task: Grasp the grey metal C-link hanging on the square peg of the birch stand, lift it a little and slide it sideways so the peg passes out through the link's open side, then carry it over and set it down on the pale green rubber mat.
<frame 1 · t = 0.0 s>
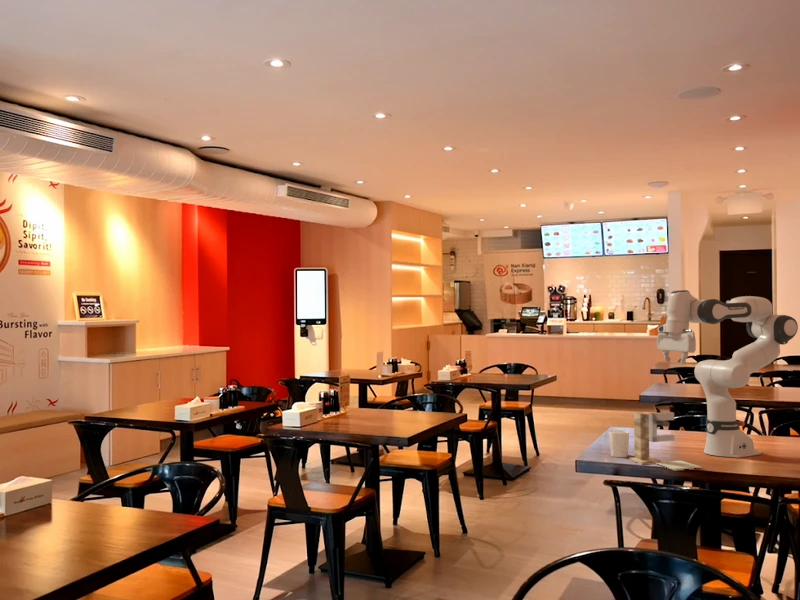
hand: (674, 362, 294), 39 cm above the table, tool pointing down, fingers open, 8 cm apart
mat: (678, 466, 277), on the table
c link: (661, 440, 277), point 10 cm above the table, touching stand
white cup: (619, 456, 297), on the table
stand: (645, 461, 285), on the table
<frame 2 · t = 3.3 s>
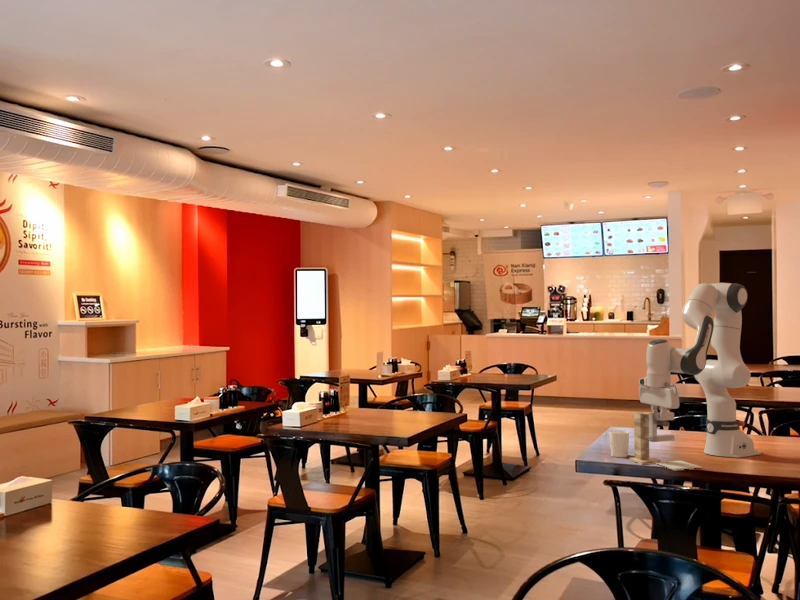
hand: (659, 417, 277), 19 cm above the table, tool pointing down, fingers closed on c link, 2 cm apart
c link: (661, 440, 277), point 10 cm above the table, touching gripper, stand
everything else where it was.
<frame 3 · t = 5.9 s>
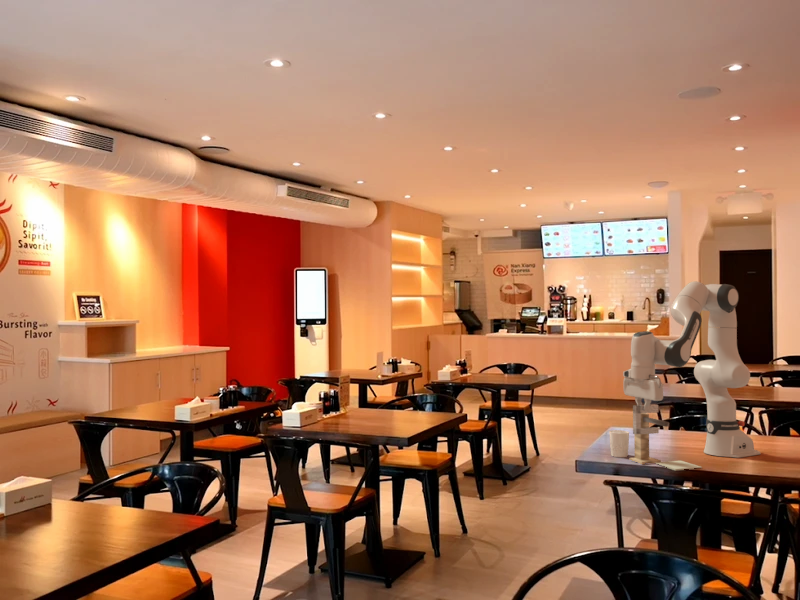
hand: (643, 409, 275), 22 cm above the table, tool pointing down, fingers closed on c link
c link: (645, 433, 275), point 13 cm above the table, touching gripper
everything else where it was.
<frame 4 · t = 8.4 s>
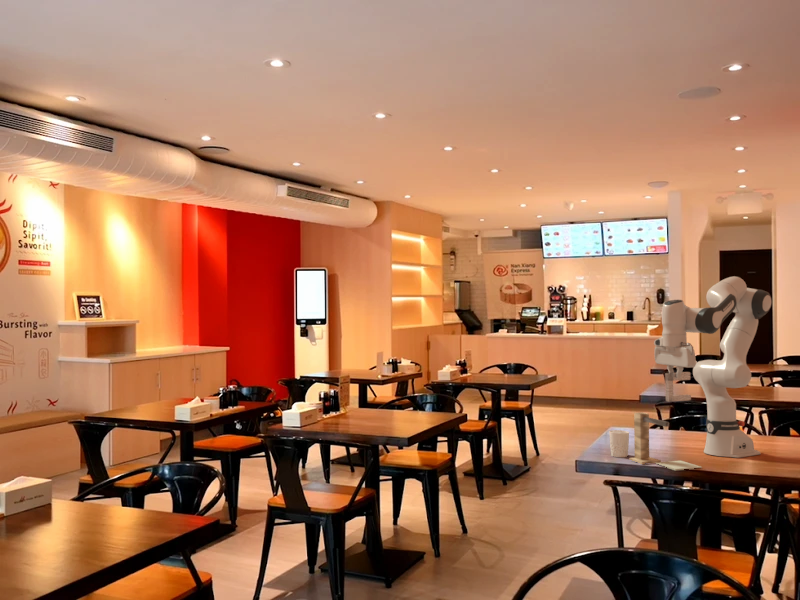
hand: (675, 377, 277), 34 cm above the table, tool pointing down, fingers closed on c link
c link: (678, 400, 278), point 25 cm above the table, touching gripper
everything else where it was.
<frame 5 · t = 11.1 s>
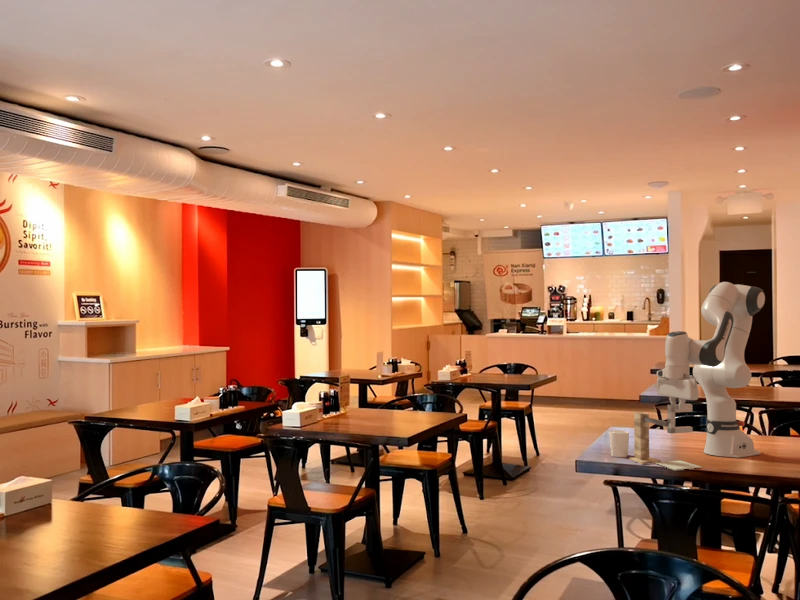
hand: (677, 409, 277), 22 cm above the table, tool pointing down, fingers closed on c link
c link: (680, 432, 277), point 13 cm above the table, touching gripper
everything else where it was.
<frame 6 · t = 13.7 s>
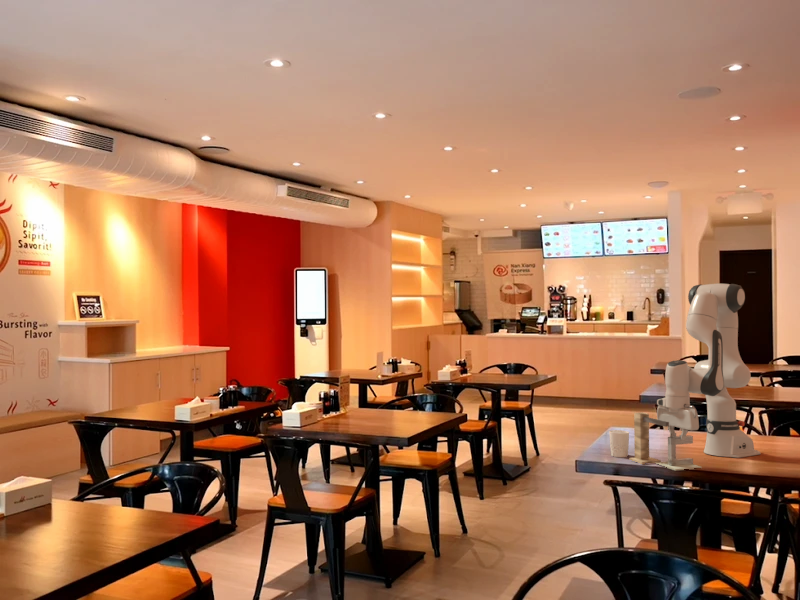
hand: (677, 438, 277), 11 cm above the table, tool pointing down, fingers open, 4 cm apart
c link: (680, 464, 277), point 1 cm above the table, touching mat
everything else where it was.
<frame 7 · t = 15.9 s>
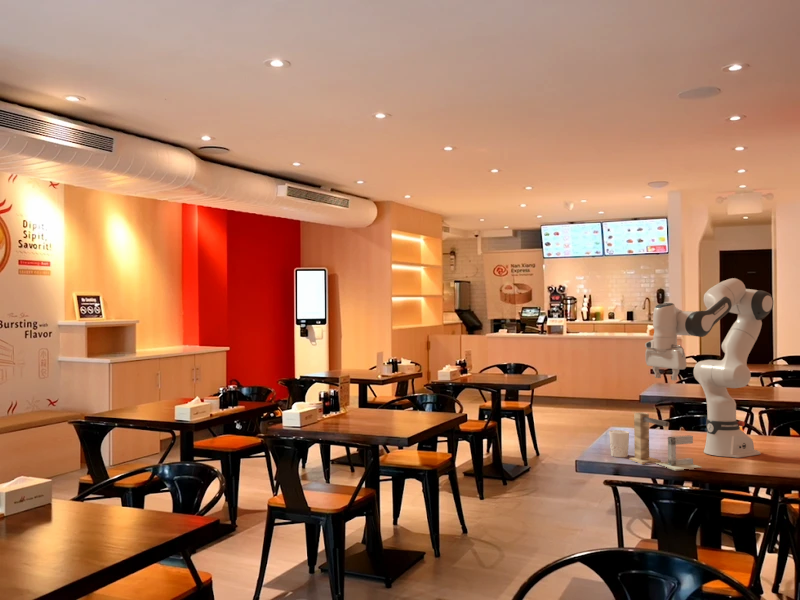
hand: (665, 379, 283), 33 cm above the table, tool pointing down, fingers open, 8 cm apart
nothing on the table moved.
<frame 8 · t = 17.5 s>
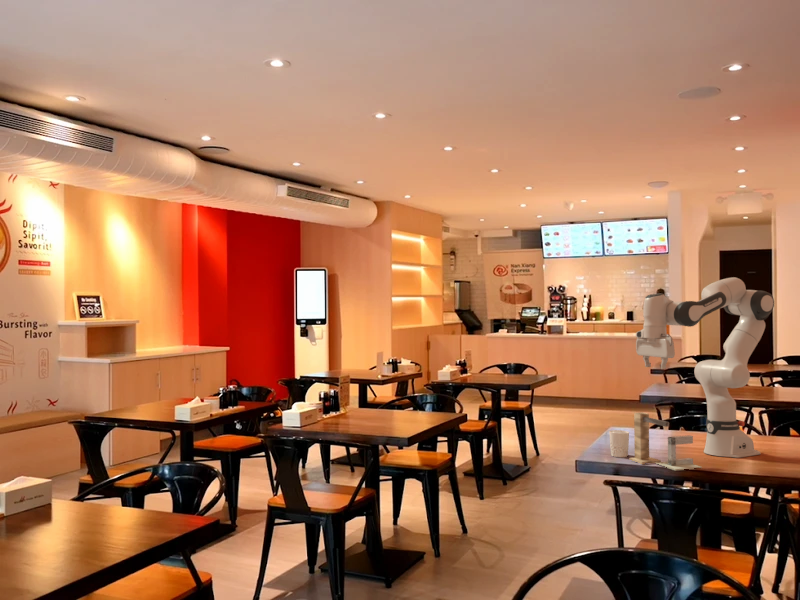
hand: (655, 368, 289), 37 cm above the table, tool pointing down, fingers open, 8 cm apart
nothing on the table moved.
at the end: c link inside the target area (1.2 cm from its centre), point 0.6 cm above the table; c link touching mat; the gripper is holding nothing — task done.
